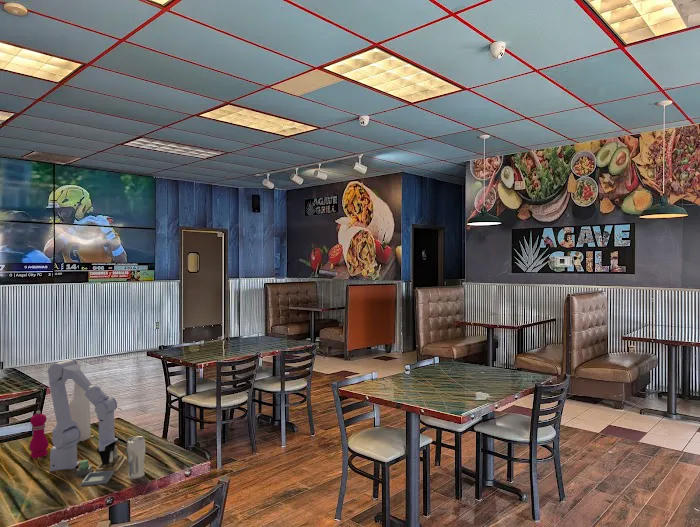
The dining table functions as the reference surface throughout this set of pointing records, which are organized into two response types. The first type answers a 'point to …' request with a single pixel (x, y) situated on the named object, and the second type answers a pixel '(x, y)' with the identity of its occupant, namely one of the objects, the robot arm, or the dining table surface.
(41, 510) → the dining table surface
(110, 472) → the tray
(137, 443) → the beer glass
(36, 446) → the pepper mill
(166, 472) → the dining table surface
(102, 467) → the cylinder
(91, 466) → the switch box
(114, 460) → the light brown divided box
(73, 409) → the alcohol
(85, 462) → the button
